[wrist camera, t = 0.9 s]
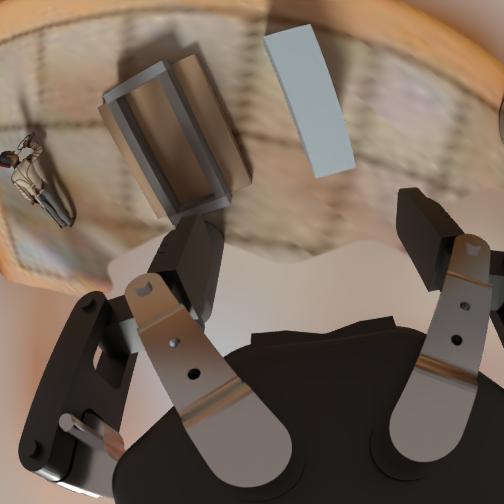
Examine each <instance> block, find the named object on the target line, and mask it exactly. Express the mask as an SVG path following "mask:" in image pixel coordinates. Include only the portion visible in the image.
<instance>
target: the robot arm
mask: <svg viewBox="0 0 504 504" xmlns="http://www.w3.org/2000/svg"><path fill="white" fill-rule="evenodd" d="M499 128H500V135H501V138H502V142H503V144H504V102H503V104H502V107H501V111H500V118H499ZM396 229H397V234H398V237H399V239H400V240H401V242H402V244H403V245H404V247H405V249H406V251H407V252H408V254H409V256H410V258H411V259H412V261H413V263H414V265H415V267H416V269H417V271H418V273H419V274H420V276H421V278H422V280H423V282H424V284H425V286H426V288H427V290H428V292H430V291H435V290H440V292H441V294H440V297H439V300H438V303H437V306H436V309H435V312H434V315H433V318H432V321H431V323H430V326H429V329H428V332H427V334H424V333H422V332H420V331H417V330H415V329H411V328H407V327H401V326H396V325H395V322H394V319H393V316H389V317H383V318H377V319H371V320H365V321H359V322H356V323H354V324H351V325H348V326H346V327H343V328H340V329H337V330H335V331H332V332H329V333H326V334H318V333H307V332H296V331H287V330H286V331H276V332H265V333H252V334H251V344H250V345H247V346H244V347H242V348H239V349H237V350H235V351H233V352H231V353H229V354H228V355H226V356H225V357H222V356H221V355H220V353H219V352H218V351H217V350H216V348H215V347H214V346H213V344H212V343H211V342H210V340H209V339H208V338H207V337H206V335H205V334H204V333H203V331H202V330H201V329H200V327H199V326H198V325H197V323H196V322H195V320H194V319H199V315H200V311H201V307H202V302H203V298H204V294H205V290H206V285H207V281H208V277H209V273H210V269H211V265H212V261H213V250H212V245H211V242H210V239H209V236H208V233H207V230H206V226H205V223H204V220H203V217H202V215H201V214H194V215H188V216H183V217H181V219H180V221H179V223H178V225H177V228H176V230H172V231H171V232H169V233H168V234H167V236H165V237H164V239H163V241H162V243H161V245H160V247H159V249H158V251H157V254H156V255H155V257H154V259H153V261H152V263H151V265H150V267H149V269H148V272H147V273H146V274H143V275H140V276H139V277H137V278H135V279H134V280H132V281H131V282H130V283H129V284H128V286H127V287H126V289H125V295H122V296H119V297H116V298H114V299H110V300H107V298H106V297H105V295H104V294H103V293H102V292H100V291H93V292H90V293H88V294H86V295H84V296H83V297H82V298H81V299H80V300H79V301H78V302H77V303H76V305H75V306H74V308H73V310H72V312H71V314H70V316H69V318H68V320H67V322H66V324H65V326H64V328H63V330H62V332H61V335H60V337H59V339H58V341H57V343H56V346H55V348H54V350H53V352H52V354H51V357H50V359H49V361H48V364H47V366H46V369H45V371H44V374H43V376H42V378H41V381H40V383H39V386H38V389H37V391H36V394H35V397H34V400H33V402H32V405H31V408H30V411H29V414H28V417H27V420H26V423H25V426H24V429H23V432H22V436H21V439H20V443H19V449H18V454H19V459H20V462H21V463H22V465H23V466H24V468H26V469H27V470H29V471H31V472H33V473H35V474H37V475H39V476H41V477H43V478H45V479H46V480H47V481H49V482H52V483H54V484H56V485H59V486H61V487H64V488H66V489H68V490H71V491H73V492H79V493H82V494H84V495H87V496H91V497H100V496H103V497H107V498H110V499H114V500H115V503H116V504H504V389H503V388H502V387H500V386H499V385H498V384H496V383H495V382H493V381H492V380H491V379H490V378H488V377H487V376H485V375H484V374H483V373H481V372H480V371H479V367H480V363H481V358H482V354H483V349H484V344H485V339H486V333H487V328H488V321H489V316H490V318H491V320H492V322H493V324H494V327H495V329H496V331H497V333H498V336H499V338H500V340H501V343H502V345H503V347H504V252H501V251H493V250H490V247H489V245H488V244H487V242H486V241H485V240H483V239H482V238H480V237H478V236H476V235H473V234H465V233H464V232H463V231H462V229H460V227H459V226H458V225H457V223H456V222H455V221H454V220H453V219H452V218H450V215H449V214H448V213H447V212H445V210H444V209H443V208H442V206H441V205H440V204H439V203H437V202H435V201H433V200H432V199H430V198H427V197H426V196H425V195H424V194H423V193H422V192H421V191H420V190H419V189H418V188H417V187H414V188H402V189H399V192H398V202H397V217H396ZM97 346H99V347H100V348H101V350H102V353H101V356H100V359H99V362H98V365H97V368H96V370H95V368H94V365H93V358H94V355H95V352H96V349H97ZM143 350H146V352H147V354H148V356H149V358H150V360H151V362H152V364H153V366H154V368H155V370H156V372H157V374H158V376H159V378H160V380H161V382H162V384H163V386H164V388H165V390H166V391H167V393H168V395H169V397H170V399H171V401H172V403H173V404H174V406H173V407H172V408H171V409H170V410H169V411H168V412H167V413H166V414H165V415H164V416H163V417H162V418H161V419H160V420H159V421H157V422H156V423H155V424H154V425H153V426H152V427H151V428H150V429H149V430H148V431H147V432H146V433H145V434H144V435H143V436H142V437H141V438H139V439H138V440H137V441H136V442H135V443H134V444H133V445H132V446H131V447H130V448H129V449H127V451H125V449H124V442H123V438H122V437H121V435H120V434H119V430H120V425H121V421H122V416H123V411H124V407H125V403H126V398H127V394H128V390H129V386H130V382H131V378H132V374H133V370H134V367H135V363H136V359H137V355H138V352H139V351H143Z"/></svg>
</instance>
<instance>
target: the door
mask: <svg viewBox="0 0 504 504" xmlns="http://www.w3.org/2000/svg"><path fill="white" fill-rule="evenodd" d="M264 47H265V49H266V51H267V54H268V56H269V59H270V61H271V63H272V66H273V68H274V71H275V73H276V76H277V78H278V81H279V83H280V86H281V88H282V91H283V94H284V96H285V99H286V102H287V104H288V107H289V110H290V112H291V115H292V118H293V121H294V123H295V126H296V129H297V132H298V135H299V138H300V141H301V144H302V146H303V149H304V152H305V154H306V156H307V159H308V161H309V163H310V166H311V168H312V170H313V173H314V175H315V178H316V179H317V178H320V177H324V176H327V175H331V174H334V173H338V172H341V171H345V170H348V169H352V168H356V164H355V160H354V156H353V152H352V148H351V144H350V140H349V136H348V133H347V129H346V125H345V122H344V118H343V115H342V112H341V108H340V105H339V102H338V99H337V95H336V92H335V89H334V86H333V83H332V80H331V77H330V74H329V71H328V69H327V66H326V63H325V60H324V58H323V55H322V52H321V50H320V47H319V44H318V42H317V39H316V37H315V34H314V32H313V29H312V27H311V24H308V25H304V26H300V27H296V28H292V29H288V30H285V31H281V32H278V33H274V34H271V35H268V36H264Z"/></svg>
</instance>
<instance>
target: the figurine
mask: <svg viewBox="0 0 504 504" xmlns="http://www.w3.org/2000/svg"><path fill="white" fill-rule="evenodd" d="M28 136H30V137H29V138H28V140H25V139H26V138H27V137H28ZM34 136H35V132H32V134H31V135H27V136H26V137H25V138H24V140H25V141H24V140H23V141H24V143H23V145H24V146H23V147H22V148H21V149H18V150H22V149H23V148H26V147H28V148H32V149H33V150H34V152H33V153H32V154H30V155H29V156H28V157H27V158H25V159H23V161H22V162H20V161H19V157H18V154H19V153H20V152H21V151H20V152H19V153H18V154H14V152H15V151H13V152H11V151H4V152H2V153H1V155H0V166H1V167H6V168H10V167H11V166H13V167H14V172H13V174H12V177H11V180H12V182H13V184H15V186H16V187H17V188H18V189H19V191H20V192H21V193H22V194H23V196H24V197H25V198H26V199H28V200H29V201H30V202H31V203H32V205H34V204H35V205H40V206H41V208H43V209H46V210H47V209H48V210H49V211H50V212H49V211H48V210H47V212H48V213H49V214H50V215H51V214H52V215H51V217H52V218H53V219H54V220H55V219H56V220H57V221H58V222H59V223H60V224H61V225H62V226H63V227H67V226H70V228H71V227H72V226H73V224H74V221H75V219H76V216H74V217H73V218H71V217H70V216H69V215H68V214H67V212H66V211H65V209H64V208H63V207H62V206H61V205H60V203H59V202H58V200H57V198H56V196H55V195H54V193H53V191H52V190H51V188H50V187H49V186H48V184H46V183H45V182H44V181H43V180H42V179H41V178H40V176H39V175H38V174H37V173H36V171H35V168H34V166H33V163H34V162H35V161H36V159H37V158H38V157H39V156H40V155H41V153H42V151H43V148H42V147H41V146H39V145H38V144H37V143H35V142H33V141H31V139H32V138H33V137H34ZM23 141H22V142H23ZM22 142H21V143H22ZM21 143H20V144H21ZM20 144H19V145H20ZM18 147H19V146H18ZM42 206H43V207H42ZM56 220H55V221H56ZM57 221H56V222H57ZM58 222H57V223H58ZM59 223H58V225H59V226H60V228H62V226H61V225H60V224H59Z"/></svg>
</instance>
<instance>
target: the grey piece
mask: <svg viewBox="0 0 504 504" xmlns="http://www.w3.org/2000/svg"><path fill="white" fill-rule="evenodd" d="M103 97H104V99H105V101H106V103H104V104H103V105H101V106H100V107H98V110H99V112H100V114H101V116H102V118H103V120H104V122H105V124H106V126H107V128H108V130H109V132H110V134H111V136H112V137H113V139H114V141H115V143H116V145H117V147H118V149H119V151H120V152H121V154H122V156H123V158H124V160H125V162H126V163H127V165H128V167H129V169H130V171H131V172H132V174H133V176H134V178H135V180H136V181H137V183H138V185H139V187H140V188H141V190H142V192H143V194H144V195H145V197H146V199H147V201H148V202H149V204H150V206H151V207H152V209H153V211H154V212H155V214H156V216H157V218H158V219H159V218H161V217H164V216H166V215H167V216H168V218H169V219H170V221H171V223H172V224H173V225H176V224H178V223H179V221H180V219H181V217H183V216H188V215H194V214H201V215H203V214H206V213H209V212H212V211H215V210H218V209H221V208H223V207H226V206H229V205H230V204H231V200H232V194H231V191H234V190H237V189H240V188H243V187H246V186H249V185H252V178H251V176H250V173H249V171H248V169H247V166H246V164H245V161H244V159H243V157H242V154H241V152H240V150H239V148H238V145H237V143H236V141H235V138H234V136H233V134H232V131H231V129H230V127H229V125H228V122H227V120H226V118H225V115H224V113H223V111H222V109H221V106H220V104H219V102H218V100H217V97H216V95H215V93H214V91H213V89H212V86H211V84H210V82H209V80H208V78H207V75H206V73H205V71H204V69H203V67H202V64H201V62H200V60H199V58H198V56H197V54H193V55H191V56H188V57H186V58H184V59H182V60H180V61H178V62H176V63H174V64H172V65H171V64H170V62H169V60H166V61H160V62H158V63H156V64H154V65H153V66H151V67H149V68H147V69H145V70H144V71H142V72H140V73H138V74H137V75H135V76H133V77H132V78H130V79H128V80H127V81H125V82H123V83H122V84H120V85H119V86H117V87H115V88H114V89H112V90H111V91H109V92H108V93H106V94H105V95H103Z"/></svg>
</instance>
